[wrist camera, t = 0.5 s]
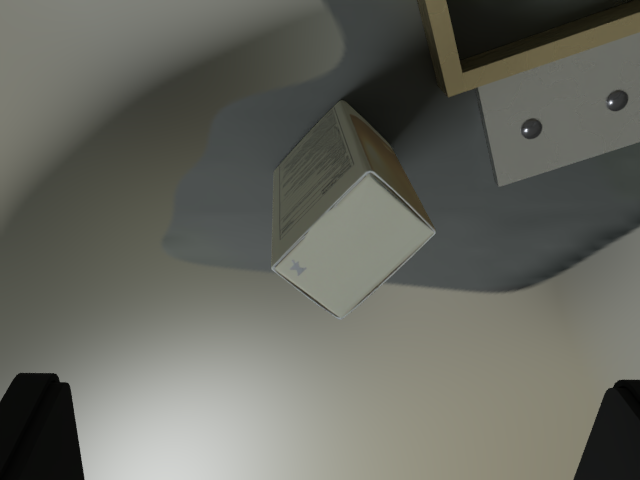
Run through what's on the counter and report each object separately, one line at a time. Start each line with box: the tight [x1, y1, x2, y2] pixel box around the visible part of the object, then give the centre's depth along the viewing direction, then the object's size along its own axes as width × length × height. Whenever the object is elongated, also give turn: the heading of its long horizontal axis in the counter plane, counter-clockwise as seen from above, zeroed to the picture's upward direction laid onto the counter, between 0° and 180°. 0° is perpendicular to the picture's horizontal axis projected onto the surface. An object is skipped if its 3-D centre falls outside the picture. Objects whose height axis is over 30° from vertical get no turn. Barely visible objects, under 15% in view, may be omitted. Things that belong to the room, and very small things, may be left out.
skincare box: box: [271, 100, 436, 319], centre depth 31 cm, size 6×4×12 cm
